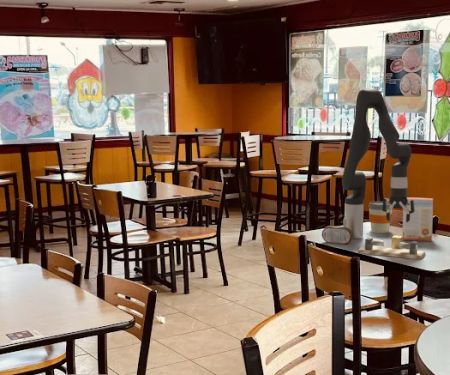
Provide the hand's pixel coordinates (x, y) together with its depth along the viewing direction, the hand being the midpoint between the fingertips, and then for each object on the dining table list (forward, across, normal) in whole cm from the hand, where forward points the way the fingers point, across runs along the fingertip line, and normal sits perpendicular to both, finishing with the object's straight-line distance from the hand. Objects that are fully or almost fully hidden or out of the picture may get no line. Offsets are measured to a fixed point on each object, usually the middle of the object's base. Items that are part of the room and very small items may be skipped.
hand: (398, 221), depth 321 cm
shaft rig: (+13, 0, -11) cm, 17 cm away
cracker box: (+13, +4, +26) cm, 30 cm away
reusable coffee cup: (+13, -18, +40) cm, 46 cm away
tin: (+13, -29, 0) cm, 32 cm away
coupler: (+13, 0, 0) cm, 13 cm away
